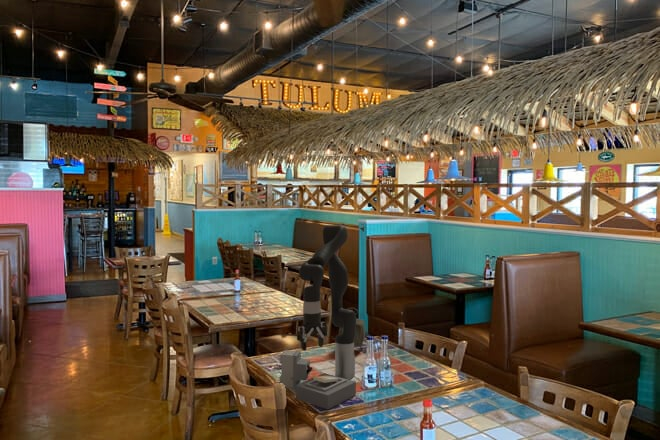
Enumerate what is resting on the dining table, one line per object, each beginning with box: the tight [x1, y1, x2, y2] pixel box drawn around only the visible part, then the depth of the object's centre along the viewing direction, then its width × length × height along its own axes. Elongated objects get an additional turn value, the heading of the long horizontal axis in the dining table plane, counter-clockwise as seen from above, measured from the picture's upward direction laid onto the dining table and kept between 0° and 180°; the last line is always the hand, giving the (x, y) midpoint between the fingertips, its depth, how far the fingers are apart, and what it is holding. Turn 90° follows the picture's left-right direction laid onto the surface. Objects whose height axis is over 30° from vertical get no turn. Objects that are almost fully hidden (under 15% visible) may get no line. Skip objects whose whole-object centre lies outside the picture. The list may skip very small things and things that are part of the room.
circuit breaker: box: [279, 349, 313, 389], centre depth 236 cm, size 8×14×15 cm, turn 78°
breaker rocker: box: [313, 375, 338, 383], centre depth 222 cm, size 10×6×1 cm, turn 142°
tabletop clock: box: [338, 307, 366, 351], centre depth 290 cm, size 14×9×25 cm, turn 79°
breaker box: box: [295, 372, 357, 410], centre depth 222 cm, size 20×18×7 cm
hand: (312, 348), depth 216 cm, fingers open, 8 cm apart
